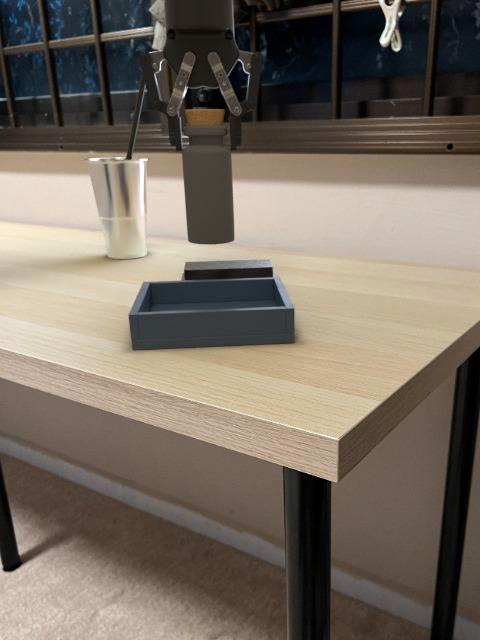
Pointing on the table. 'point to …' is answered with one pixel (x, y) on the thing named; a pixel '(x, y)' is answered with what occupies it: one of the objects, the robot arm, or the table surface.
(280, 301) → the tray
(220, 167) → the bottle
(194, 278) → the scrub brush
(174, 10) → the robot arm
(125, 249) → the glass
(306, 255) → the table surface
